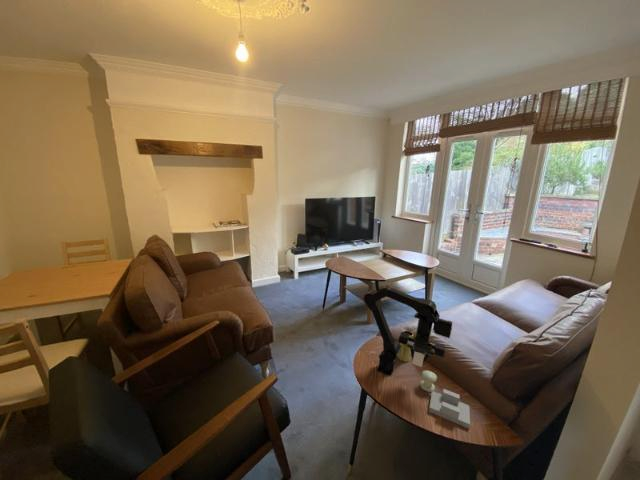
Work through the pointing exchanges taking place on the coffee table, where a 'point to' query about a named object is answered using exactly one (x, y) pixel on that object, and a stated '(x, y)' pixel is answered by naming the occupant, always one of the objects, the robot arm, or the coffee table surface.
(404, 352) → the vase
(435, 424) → the coffee table surface
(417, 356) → the block
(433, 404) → the notch board
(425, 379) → the spool
